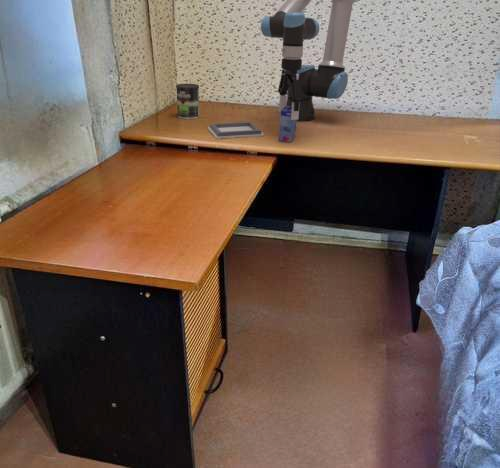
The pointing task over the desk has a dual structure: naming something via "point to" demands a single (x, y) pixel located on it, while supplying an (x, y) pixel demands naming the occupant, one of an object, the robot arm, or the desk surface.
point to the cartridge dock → (234, 130)
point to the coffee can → (188, 101)
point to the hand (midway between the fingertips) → (288, 115)
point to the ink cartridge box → (287, 125)
